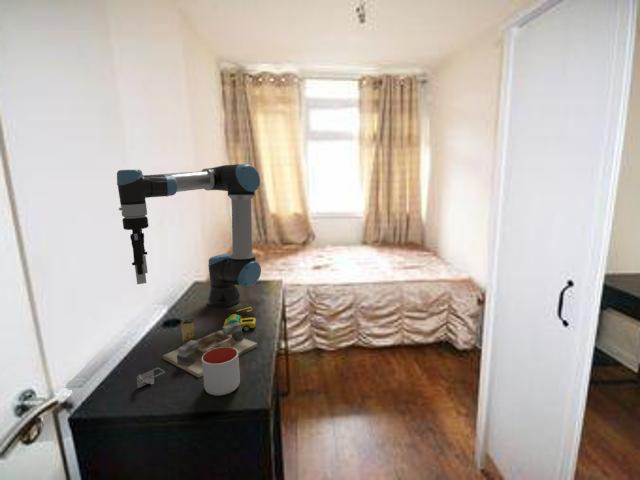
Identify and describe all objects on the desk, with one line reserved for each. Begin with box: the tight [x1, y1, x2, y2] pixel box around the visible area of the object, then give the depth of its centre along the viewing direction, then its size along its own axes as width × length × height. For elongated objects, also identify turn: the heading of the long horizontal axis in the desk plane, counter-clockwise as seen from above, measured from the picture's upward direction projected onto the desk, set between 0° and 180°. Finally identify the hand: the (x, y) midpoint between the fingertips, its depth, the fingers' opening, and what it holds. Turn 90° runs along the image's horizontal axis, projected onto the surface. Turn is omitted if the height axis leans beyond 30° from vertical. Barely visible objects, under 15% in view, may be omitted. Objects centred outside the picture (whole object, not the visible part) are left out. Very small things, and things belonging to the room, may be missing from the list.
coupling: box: [180, 317, 197, 346], centre depth 130 cm, size 4×4×9 cm
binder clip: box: [136, 366, 166, 389], centre depth 104 cm, size 6×4×6 cm, turn 141°
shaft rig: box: [162, 322, 258, 378], centre depth 123 cm, size 25×20×7 cm
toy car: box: [223, 306, 257, 332], centre depth 141 cm, size 12×8×8 cm, turn 97°
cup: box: [202, 347, 241, 397], centre depth 102 cm, size 10×10×10 cm
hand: (142, 278), depth 123 cm, fingers open, 13 cm apart
